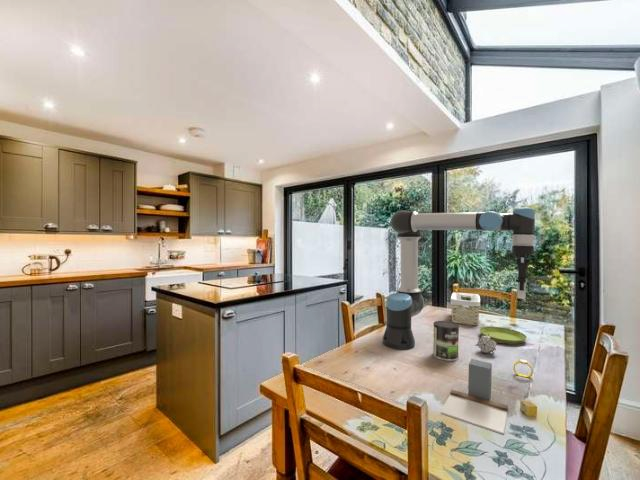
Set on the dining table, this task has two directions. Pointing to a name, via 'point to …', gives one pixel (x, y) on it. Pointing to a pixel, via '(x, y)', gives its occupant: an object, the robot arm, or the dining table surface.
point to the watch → (523, 363)
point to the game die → (486, 344)
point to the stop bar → (479, 400)
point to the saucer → (503, 335)
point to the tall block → (480, 379)
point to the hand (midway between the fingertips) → (521, 295)
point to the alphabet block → (528, 408)
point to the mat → (475, 413)
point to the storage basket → (465, 308)
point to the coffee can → (446, 340)
